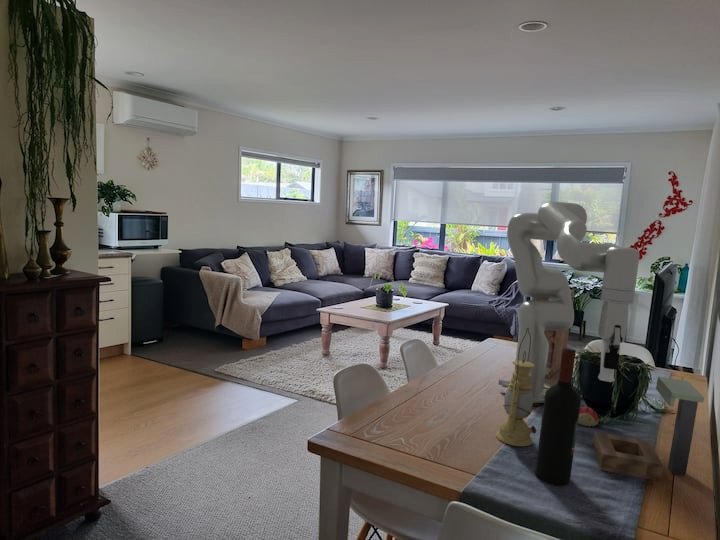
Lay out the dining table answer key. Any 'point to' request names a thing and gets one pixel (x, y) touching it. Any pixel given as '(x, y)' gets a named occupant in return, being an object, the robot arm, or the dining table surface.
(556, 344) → the book
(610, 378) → the perfume bottle
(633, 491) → the dining table surface
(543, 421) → the wine bottle
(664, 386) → the capped grey post
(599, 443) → the socket block
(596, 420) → the red and yellow dome
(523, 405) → the lantern
